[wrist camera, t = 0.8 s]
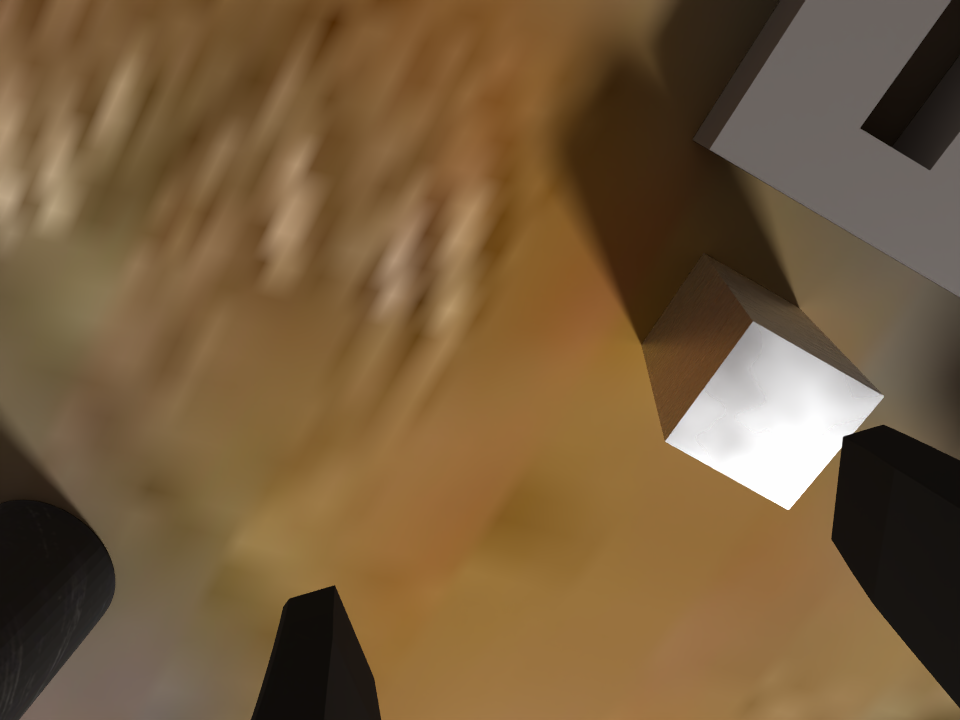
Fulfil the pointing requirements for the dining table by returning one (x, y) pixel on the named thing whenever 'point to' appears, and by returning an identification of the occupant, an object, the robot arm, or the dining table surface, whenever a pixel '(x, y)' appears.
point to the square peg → (752, 383)
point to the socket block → (849, 127)
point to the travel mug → (45, 596)
